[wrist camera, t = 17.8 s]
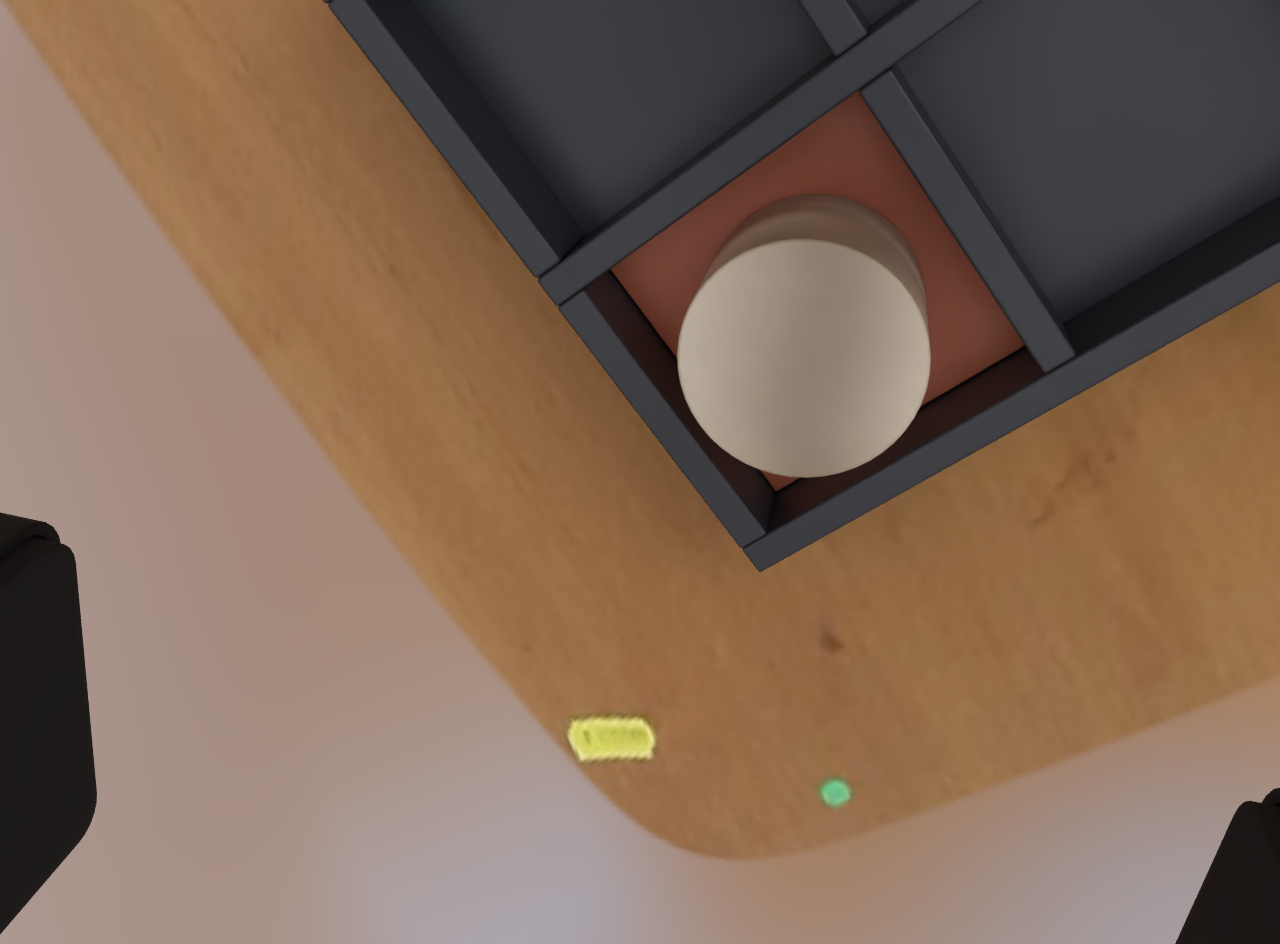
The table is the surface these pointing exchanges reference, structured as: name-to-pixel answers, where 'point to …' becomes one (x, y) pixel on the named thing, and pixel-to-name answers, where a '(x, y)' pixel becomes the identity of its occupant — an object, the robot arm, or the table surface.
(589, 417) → the table surface
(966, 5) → the grid
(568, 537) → the table surface
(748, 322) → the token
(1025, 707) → the table surface
